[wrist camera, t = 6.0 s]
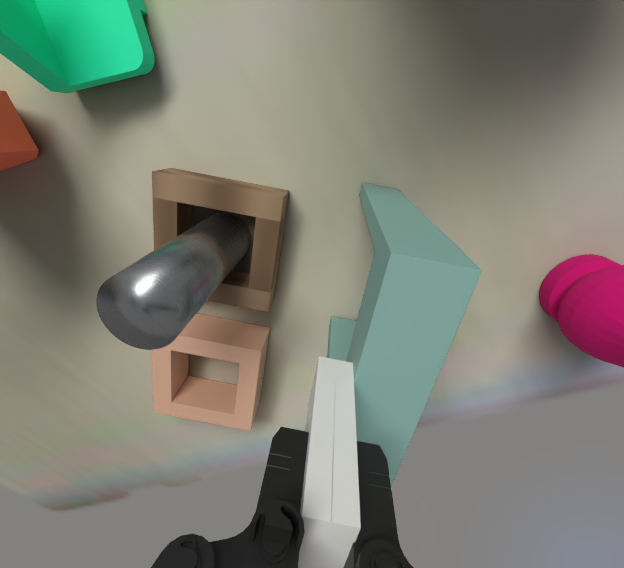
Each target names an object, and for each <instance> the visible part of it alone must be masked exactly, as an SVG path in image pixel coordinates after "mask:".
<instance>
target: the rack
mask: <svg viewBox="0 0 624 568" xmlns="http://www.w3.org/2000/svg"><path fill="white" fill-rule="evenodd" d="M269 331H270V327H265V326H260V325H255V324H249V323H244V322H239V321H234V320H229V319H224V318H218V317H213V316H208V315H203V314H198V313H196V314H195V316H194V317H193V318H192V319H191V321H190V322H189V323H188V324H187V326H186V327H185V328H184V329H183V330H182V332H181V333H180V334H179V335H178V337H177V338H176V339H175V340H174V341H173V342H172V343H171V344H169V345H167V346H166V347H163V348H160V349H153V350H152V377H153V403H154V412H155V413H160V414H166V415H171V416H176V417H181V418H186V419H191V420H196V421H201V422H207V423H212V424H217V425H222V426H227V427H232V428H237V429H242V430H248V431H251V428H252V425H253V422H254V418H255V415H256V412H257V409H258V405H259V402H260V395H261V388H262V381H263V374H264V367H265V360H266V353H267V345H268V338H269ZM189 354H193V355H198V356H204V357H209V358H214V359H219V360H224V361H229V362H234V363H240V365H239V374H238V384H237V385H233V384H228V383H223V382H217V381H212V380H207V379H202V378H197V377H192V376H188V357H189Z"/></svg>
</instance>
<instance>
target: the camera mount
mask: <svg viewBox="0 0 624 568" xmlns="http://www.w3.org/2000/svg"><path fill="white" fill-rule="evenodd" d="M144 14H147V11H146V8H145V4H144V1H143V0H0V53H1V54H2V55H4V56H5V57H6V58H8V59H9V60H10V61H12V62H13V63H14V64H16V65H17V66H18V67H20V68H21V69H22V70H24V71H25V72H26V73H28V74H29V75H30V76H32V77H33V78H34V79H36V80H37V81H38V82H40V83H41V84H42V85H44V86H45V87H46V88H48V89H49V90H50V91H56V92H62V93H69V92H73V91H78V90H82V89H86V88H90V87H94V86H98V85H102V84H106V83H110V82H115V81H119V80H123V79H127V78H131V77H135V76H139V75H143V74H147V73H149V72H150V71H151V70H152V69H153V66H154V63H155V57H154V52H153V49H152V46H151V43H150V39H149V36H148V33H147V30H146V26H145V23H144V20H143V17H142V15H144Z"/></svg>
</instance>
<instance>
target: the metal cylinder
mask: <svg viewBox="0 0 624 568" xmlns="http://www.w3.org/2000/svg"><path fill="white" fill-rule="evenodd" d="M250 241H251V238H250V232H249V229H248V227H247V226H246V224H245V223H244V222H243V220H241V219H240V218H239V217H238V216H236V215H234V214H231V213H227V212H219V213H215V214H213V215H211V216H210V217H208V218H206V219H205V220H203V221H202V222H200V223H198V224H197V225H195V226H193V227H192V228H190V229H189V230H187V231H185V232H184V233H182V234H181V235H179V236H177V237H176V238H174V239H172V240H171V241H169V242H168V243H166V244H164V245H163V246H161V247H159V248H158V249H156V250H155V251H153V252H151V253H150V254H148V255H146V256H145V257H143V258H142V259H140V260H138V261H137V262H135V263H134V264H132V265H130V266H129V267H127V268H125V269H124V270H122V271H121V272H119V273H117V274H116V275H114V276H112V277H111V278H109V279H108V280H106V281H105V282H104V283H103V284H102V286H101V287H100V289H99V291H98V294H97V310H98V313H99V316H100V318H101V320H102V322H103V323H104V325H105V326H106V328H107V329H108V330H109V331H110V332H111V333H112V334H113V335H114V336H115V337H117V338H118V339H119V340H121V341H122V342H124V343H126V344H128V345H130V346H133V347H136V348H140V349H147V350H153V349H160V348H163V347H166V346H167V345H169V344H171V343H172V342H173V341H174V340H175V339H176V338H177V337H178V335H179V334H180V333H181V332H182V330H183V329H184V328H185V327H186V326H187V324H188V323H189V322H190V321H191V319H192V318H193V317H194V316H195V314H196V313H197V312H198V311H199V310H200V308H201V307H202V306H203V305H204V303H205V302H206V301H207V300H208V299H209V297H210V296H211V295H212V294H213V292H214V291H215V290H216V289H217V287H218V286H219V285H220V284H221V283H222V281H223V280H224V279H225V278H226V276H227V275H228V274H229V273H230V272H231V270H232V269H233V268H234V267H235V265H236V264H237V263H238V262H239V261H240V259H241V258H242V257H243V256H244V254H245V253H246V252H247V250H248V248H249V246H250Z"/></svg>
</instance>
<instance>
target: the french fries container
mask: <svg viewBox="0 0 624 568" xmlns="http://www.w3.org/2000/svg"><path fill="white" fill-rule="evenodd" d="M38 152H39V150H38V148H37V147H36V145H35V143H34V141H33V139H32V138H31V136H30V134H29V132H28V130H27V129H26V127H25V125H24V123H23V121H22V120H21V118H20V116H19V114H18V112H17V111H16V109H15V107H14V105H13V103H12V102H11V100H10V98H9V96H8V94H7V93H6V91H0V171H3V170H6V169H8V168H11V167H14V166H17V165H20V164H23V163H26V162H28V161H31V160H34V159H37V156H38Z"/></svg>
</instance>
